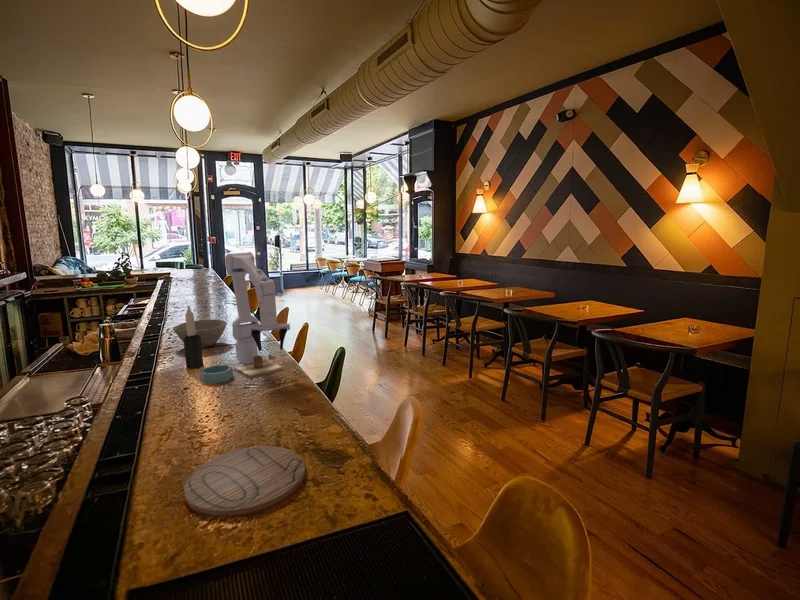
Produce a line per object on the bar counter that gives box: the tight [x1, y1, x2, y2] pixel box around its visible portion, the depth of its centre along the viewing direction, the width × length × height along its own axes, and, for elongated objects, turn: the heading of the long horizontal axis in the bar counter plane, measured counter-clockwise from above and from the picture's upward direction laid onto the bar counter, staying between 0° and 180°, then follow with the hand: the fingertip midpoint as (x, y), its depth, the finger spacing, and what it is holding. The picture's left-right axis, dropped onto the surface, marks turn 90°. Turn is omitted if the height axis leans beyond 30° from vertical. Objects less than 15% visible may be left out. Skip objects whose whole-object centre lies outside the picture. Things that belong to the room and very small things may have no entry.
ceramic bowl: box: [172, 319, 228, 348], centre depth 209 cm, size 22×23×10 cm
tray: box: [232, 367, 287, 380], centre depth 172 cm, size 15×15×1 cm
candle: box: [182, 305, 204, 370], centre depth 175 cm, size 5×5×25 cm
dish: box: [199, 364, 234, 384], centre depth 163 cm, size 10×10×4 cm
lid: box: [234, 355, 284, 379], centre depth 171 cm, size 13×13×5 cm
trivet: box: [183, 445, 306, 518], centre depth 99 cm, size 25×25×2 cm
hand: (270, 349), depth 166 cm, fingers open, 7 cm apart
